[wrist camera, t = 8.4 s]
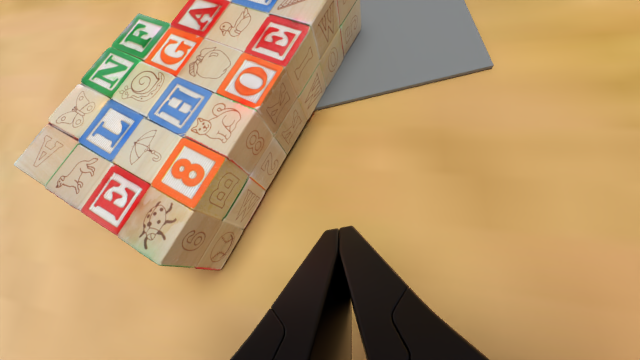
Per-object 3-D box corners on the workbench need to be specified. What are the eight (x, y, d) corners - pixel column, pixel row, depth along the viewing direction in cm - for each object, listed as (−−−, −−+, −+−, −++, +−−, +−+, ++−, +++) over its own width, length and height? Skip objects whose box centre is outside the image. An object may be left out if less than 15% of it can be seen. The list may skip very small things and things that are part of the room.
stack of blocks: (364, 30, 24) (244, -5, 28) (361, -51, 18) (210, -82, 22) (219, 273, 20) (100, 193, 23) (154, 269, 14) (8, 164, 17)
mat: (492, 68, 21) (493, 65, 21) (182, 142, 24) (180, 140, 24) (435, -59, 26) (435, -62, 26) (183, 15, 29) (181, 12, 29)
